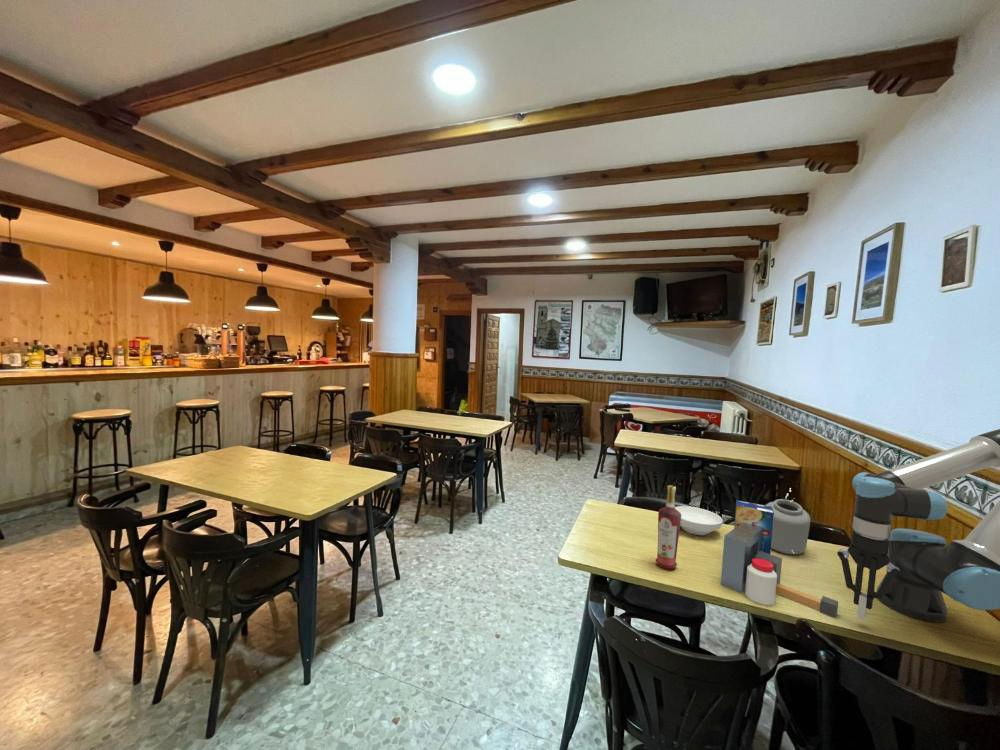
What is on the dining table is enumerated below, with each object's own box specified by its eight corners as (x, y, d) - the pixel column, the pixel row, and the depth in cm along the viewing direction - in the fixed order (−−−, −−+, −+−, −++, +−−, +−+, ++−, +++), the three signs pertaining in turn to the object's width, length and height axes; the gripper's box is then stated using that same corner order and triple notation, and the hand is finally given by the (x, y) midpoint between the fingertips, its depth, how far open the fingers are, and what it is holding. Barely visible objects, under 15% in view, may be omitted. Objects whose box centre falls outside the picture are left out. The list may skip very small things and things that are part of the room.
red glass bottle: (680, 566, 140) (686, 487, 138) (672, 574, 134) (678, 491, 133) (659, 558, 145) (664, 481, 143) (651, 565, 139) (656, 485, 138)
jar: (814, 566, 145) (820, 497, 144) (766, 556, 151) (772, 490, 149) (799, 544, 162) (804, 483, 161) (756, 536, 168) (761, 477, 167)
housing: (761, 572, 138) (764, 526, 138) (741, 593, 125) (745, 542, 124) (741, 564, 143) (745, 520, 142) (720, 584, 129) (724, 535, 129)
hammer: (838, 611, 118) (841, 578, 117) (834, 619, 114) (837, 585, 113) (758, 580, 133) (760, 550, 133) (752, 586, 129) (754, 556, 128)
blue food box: (768, 576, 137) (774, 512, 136) (731, 566, 142) (736, 505, 141) (767, 567, 143) (772, 506, 142) (731, 558, 148) (736, 500, 147)
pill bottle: (775, 608, 118) (778, 572, 117) (744, 599, 122) (747, 563, 121) (774, 596, 124) (777, 561, 124) (744, 587, 128) (747, 553, 128)
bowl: (731, 543, 160) (732, 525, 160) (682, 540, 161) (683, 523, 160) (706, 523, 180) (707, 507, 180) (662, 520, 180) (664, 504, 180)
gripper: (904, 539, 108) (895, 624, 109) (841, 523, 118) (833, 601, 119) (902, 547, 103) (892, 636, 104) (837, 529, 113) (828, 610, 114)
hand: (861, 617), depth 112 cm, fingers closed
